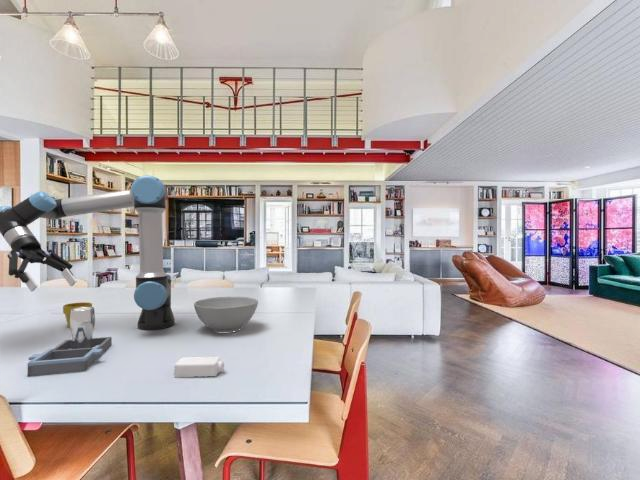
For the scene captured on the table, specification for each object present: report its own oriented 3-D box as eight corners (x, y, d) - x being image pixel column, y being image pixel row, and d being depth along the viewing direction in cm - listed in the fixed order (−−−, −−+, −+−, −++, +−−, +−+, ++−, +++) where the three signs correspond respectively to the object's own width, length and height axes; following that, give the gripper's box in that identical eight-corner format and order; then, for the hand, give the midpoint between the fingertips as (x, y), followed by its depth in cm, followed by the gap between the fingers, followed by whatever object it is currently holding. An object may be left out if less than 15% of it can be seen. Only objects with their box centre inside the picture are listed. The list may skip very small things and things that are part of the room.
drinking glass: (67, 357, 107) (67, 311, 107) (71, 351, 113) (72, 307, 113) (92, 354, 110) (93, 309, 110) (95, 348, 116) (96, 306, 116)
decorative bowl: (269, 325, 149) (269, 299, 149) (230, 342, 125) (231, 310, 125) (223, 319, 160) (223, 294, 160) (179, 333, 136) (179, 304, 136)
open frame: (117, 344, 121) (117, 334, 121) (93, 370, 97) (93, 357, 97) (59, 348, 115) (59, 338, 115) (18, 377, 91) (18, 363, 91)
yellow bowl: (96, 325, 147) (96, 303, 147) (68, 330, 138) (69, 307, 138) (85, 322, 152) (85, 301, 152) (58, 327, 144) (58, 304, 144)
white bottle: (220, 378, 93) (220, 363, 93) (173, 379, 92) (174, 363, 92) (225, 369, 99) (225, 355, 99) (182, 369, 98) (182, 355, 98)
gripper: (52, 248, 131) (81, 288, 127) (-26, 250, 106) (8, 299, 103) (63, 235, 130) (93, 275, 126) (-13, 234, 105) (22, 283, 102)
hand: (55, 286), depth 115 cm, fingers open, 13 cm apart
